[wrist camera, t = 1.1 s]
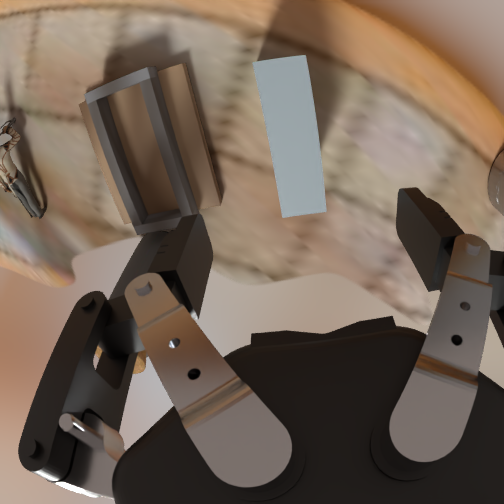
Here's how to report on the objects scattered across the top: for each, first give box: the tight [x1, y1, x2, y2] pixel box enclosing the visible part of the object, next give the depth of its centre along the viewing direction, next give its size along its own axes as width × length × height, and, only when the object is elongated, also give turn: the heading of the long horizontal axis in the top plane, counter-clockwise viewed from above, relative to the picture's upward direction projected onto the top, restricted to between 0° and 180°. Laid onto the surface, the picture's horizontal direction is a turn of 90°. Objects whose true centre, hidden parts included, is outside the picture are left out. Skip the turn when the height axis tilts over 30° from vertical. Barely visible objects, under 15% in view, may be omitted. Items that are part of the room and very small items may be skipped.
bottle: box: [95, 231, 168, 374], centre depth 27 cm, size 6×6×15 cm
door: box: [252, 55, 326, 218], centre depth 21 cm, size 3×11×8 cm, turn 11°
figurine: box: [0, 118, 47, 219], centre depth 25 cm, size 6×4×15 cm
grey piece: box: [79, 63, 222, 235], centre depth 25 cm, size 11×15×3 cm
